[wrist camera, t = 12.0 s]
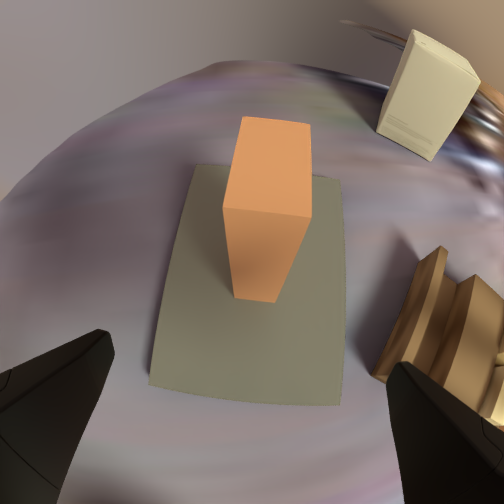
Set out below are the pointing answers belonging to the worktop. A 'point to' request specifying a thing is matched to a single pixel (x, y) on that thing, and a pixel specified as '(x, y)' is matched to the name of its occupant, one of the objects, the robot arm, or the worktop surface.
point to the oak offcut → (500, 353)
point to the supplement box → (426, 95)
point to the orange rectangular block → (267, 204)
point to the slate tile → (252, 309)
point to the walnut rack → (447, 331)
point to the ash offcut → (494, 398)
